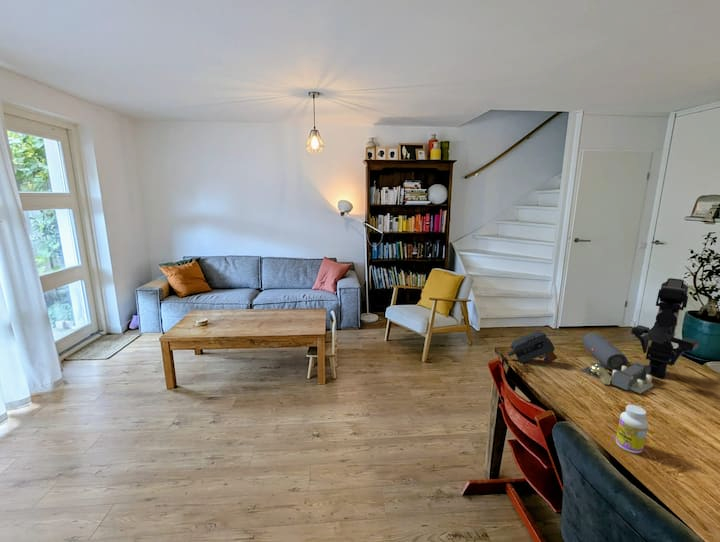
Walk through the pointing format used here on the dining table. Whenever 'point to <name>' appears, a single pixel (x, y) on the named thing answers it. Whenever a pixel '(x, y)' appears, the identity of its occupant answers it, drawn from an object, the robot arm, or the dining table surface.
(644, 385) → the rack
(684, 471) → the dining table surface
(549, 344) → the tool
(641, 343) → the robot arm
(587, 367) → the flange
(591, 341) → the bluetooth speaker
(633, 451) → the supplement bottle
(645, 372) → the grey bone-shaped bar
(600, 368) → the brass door handle
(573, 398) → the dining table surface
